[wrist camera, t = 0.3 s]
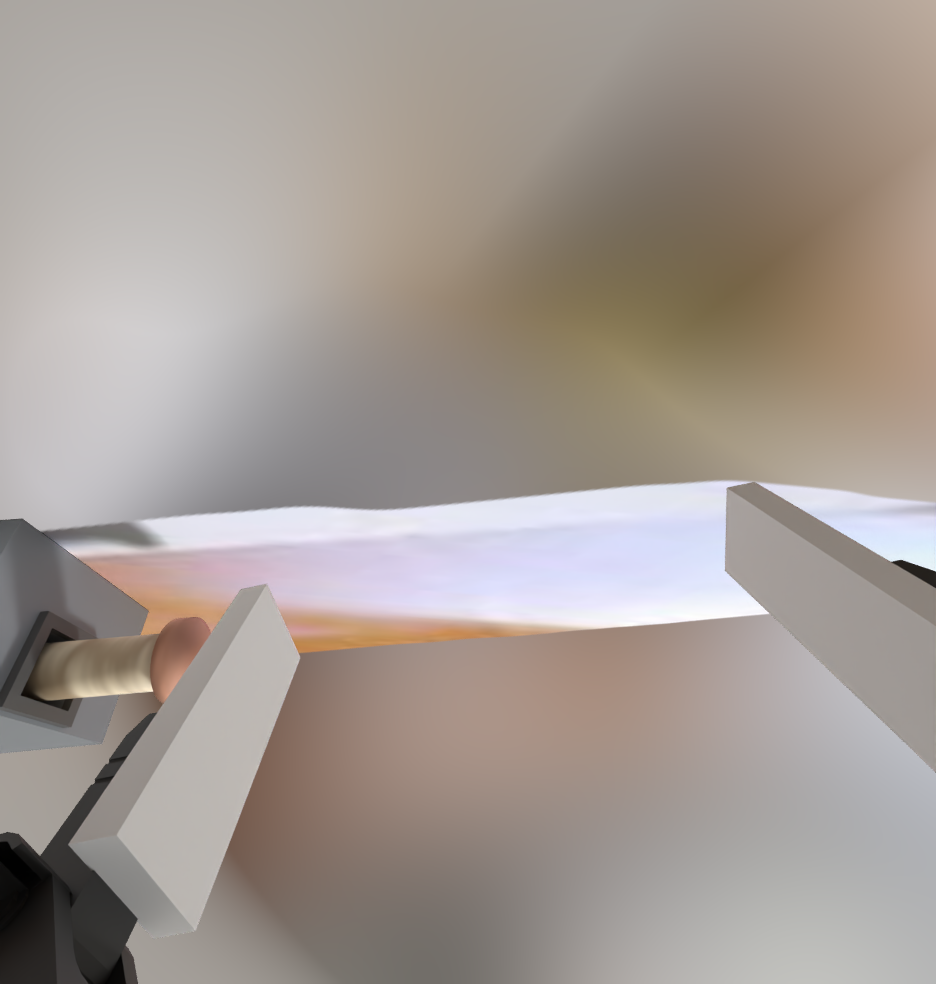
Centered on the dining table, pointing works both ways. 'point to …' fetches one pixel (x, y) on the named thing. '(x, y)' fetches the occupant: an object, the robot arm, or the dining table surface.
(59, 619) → the socket block
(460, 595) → the dining table surface
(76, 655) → the round knob
